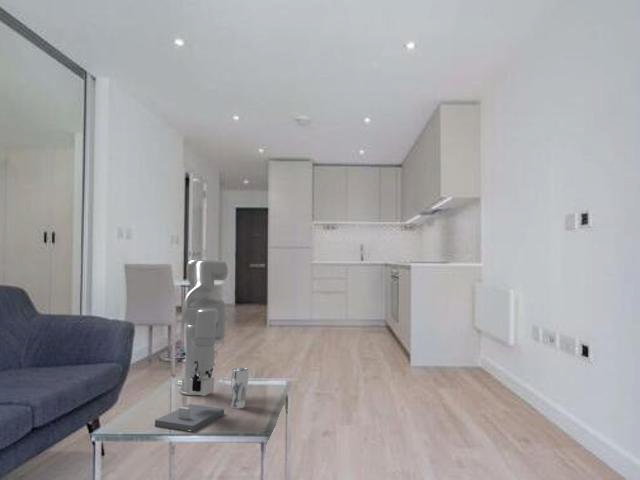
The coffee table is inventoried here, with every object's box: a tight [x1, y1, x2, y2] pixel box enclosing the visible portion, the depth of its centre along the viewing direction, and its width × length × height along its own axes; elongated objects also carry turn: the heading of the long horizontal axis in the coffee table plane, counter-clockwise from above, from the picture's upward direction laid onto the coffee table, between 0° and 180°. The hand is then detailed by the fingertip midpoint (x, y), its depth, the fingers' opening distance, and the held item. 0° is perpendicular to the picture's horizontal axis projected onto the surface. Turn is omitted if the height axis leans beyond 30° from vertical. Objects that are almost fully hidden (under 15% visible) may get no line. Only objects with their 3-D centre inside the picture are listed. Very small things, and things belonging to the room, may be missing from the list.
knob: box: [189, 373, 215, 397], centre depth 172 cm, size 7×7×7 cm
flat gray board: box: [154, 403, 225, 432], centre depth 165 cm, size 15×22×6 cm
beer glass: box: [230, 367, 249, 410], centre depth 184 cm, size 7×7×15 cm
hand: (201, 388), depth 172 cm, fingers closed on knob, 6 cm apart
